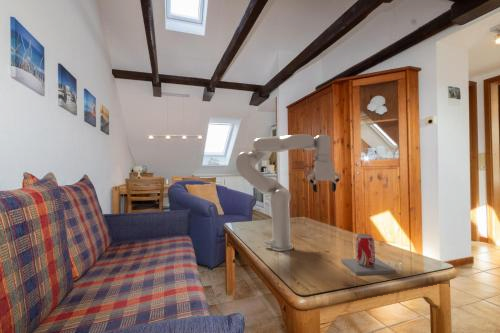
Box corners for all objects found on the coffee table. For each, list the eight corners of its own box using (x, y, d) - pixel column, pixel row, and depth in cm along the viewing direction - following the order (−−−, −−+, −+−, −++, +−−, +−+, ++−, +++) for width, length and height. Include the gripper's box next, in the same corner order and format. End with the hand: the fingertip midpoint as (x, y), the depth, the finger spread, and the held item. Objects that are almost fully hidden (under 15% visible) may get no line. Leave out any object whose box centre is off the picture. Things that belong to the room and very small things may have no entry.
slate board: (356, 274, 95) (356, 271, 95) (341, 261, 109) (341, 259, 109) (396, 273, 96) (396, 270, 96) (376, 260, 110) (376, 257, 110)
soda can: (367, 268, 98) (366, 238, 98) (353, 263, 104) (352, 235, 105) (379, 265, 101) (377, 236, 102) (364, 260, 107) (363, 232, 108)
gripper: (308, 158, 122) (310, 192, 122) (342, 157, 123) (343, 191, 123) (304, 159, 130) (305, 191, 129) (336, 158, 131) (337, 190, 130)
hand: (324, 191), depth 126 cm, fingers open, 9 cm apart
